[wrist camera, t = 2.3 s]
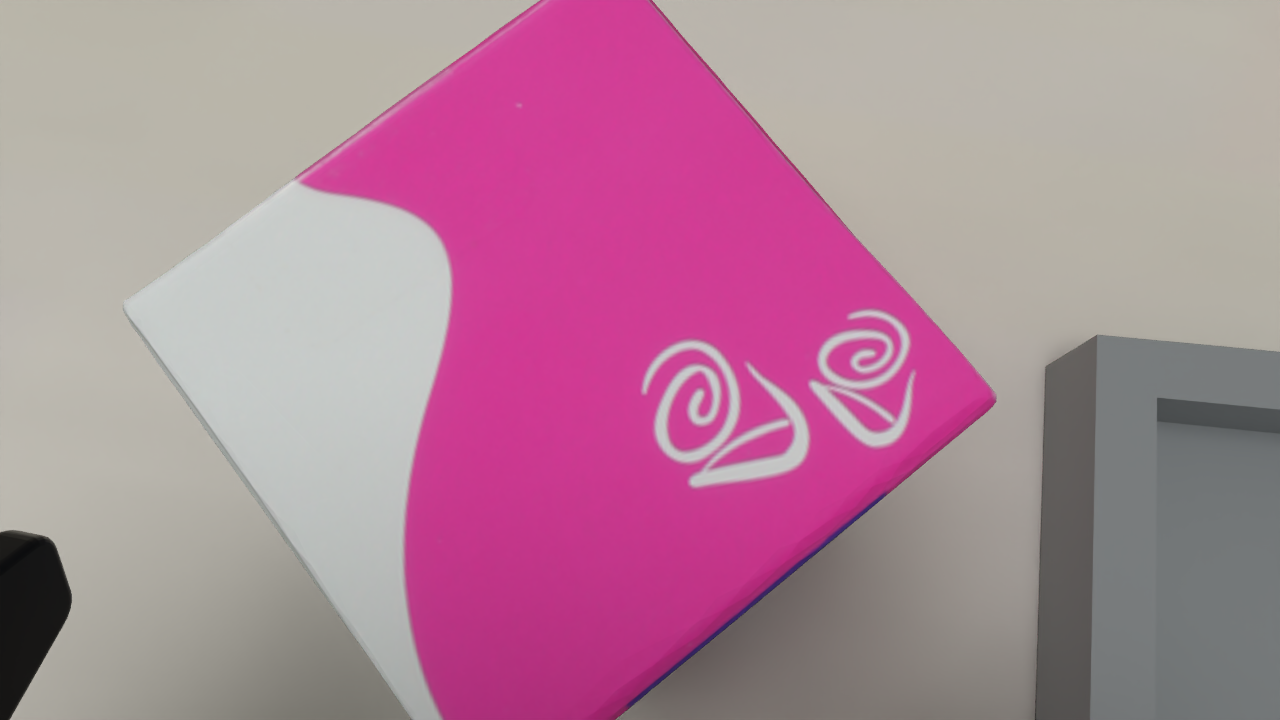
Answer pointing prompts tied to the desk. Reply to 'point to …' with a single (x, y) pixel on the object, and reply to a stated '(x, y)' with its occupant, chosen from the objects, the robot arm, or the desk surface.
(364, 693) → the desk surface
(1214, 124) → the desk surface
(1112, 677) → the tray
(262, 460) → the supplement box
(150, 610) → the desk surface
